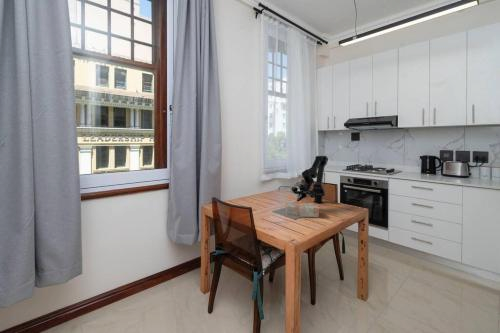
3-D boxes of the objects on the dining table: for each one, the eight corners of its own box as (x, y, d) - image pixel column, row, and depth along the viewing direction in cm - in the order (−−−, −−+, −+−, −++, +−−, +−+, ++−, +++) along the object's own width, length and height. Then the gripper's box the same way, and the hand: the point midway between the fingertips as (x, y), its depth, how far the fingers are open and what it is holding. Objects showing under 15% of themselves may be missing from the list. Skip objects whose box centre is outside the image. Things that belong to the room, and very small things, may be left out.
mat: (285, 208, 184) (285, 207, 184) (308, 215, 167) (308, 214, 167) (271, 211, 176) (271, 211, 176) (294, 219, 158) (294, 218, 158)
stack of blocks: (285, 210, 176) (286, 216, 164) (286, 202, 175) (286, 207, 163) (316, 212, 173) (318, 217, 161) (316, 203, 173) (319, 208, 161)
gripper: (292, 176, 184) (282, 192, 178) (312, 179, 169) (302, 197, 164) (299, 185, 189) (289, 201, 184) (319, 189, 175) (309, 206, 169)
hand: (297, 201), depth 175 cm, fingers closed
